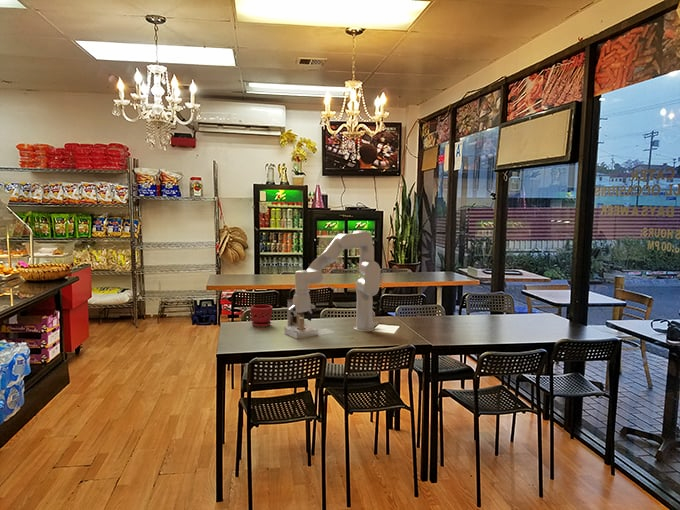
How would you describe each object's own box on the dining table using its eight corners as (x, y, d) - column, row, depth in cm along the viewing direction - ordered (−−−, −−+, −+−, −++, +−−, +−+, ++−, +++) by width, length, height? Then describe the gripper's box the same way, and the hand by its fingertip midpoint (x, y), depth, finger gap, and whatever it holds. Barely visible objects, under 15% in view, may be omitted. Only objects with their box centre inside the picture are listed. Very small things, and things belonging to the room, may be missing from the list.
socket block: (305, 329, 278) (305, 324, 278) (317, 335, 267) (318, 329, 266) (284, 333, 270) (284, 327, 270) (296, 339, 259) (296, 333, 258)
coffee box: (301, 324, 292) (301, 298, 290) (304, 326, 286) (304, 300, 284) (287, 325, 288) (287, 299, 286) (289, 327, 282) (290, 301, 281)
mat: (326, 329, 281) (326, 328, 281) (336, 332, 273) (336, 332, 273) (312, 331, 275) (312, 330, 275) (321, 335, 267) (321, 334, 267)
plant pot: (274, 327, 283) (274, 307, 282) (253, 328, 278) (253, 308, 277) (269, 321, 295) (269, 303, 294) (248, 323, 290) (248, 304, 289)
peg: (302, 333, 270) (302, 317, 269) (304, 334, 268) (305, 318, 267) (297, 334, 269) (297, 317, 268) (300, 335, 266) (300, 319, 265)
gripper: (311, 289, 274) (311, 318, 276) (285, 292, 264) (285, 322, 266) (318, 291, 268) (318, 320, 270) (291, 294, 258) (292, 325, 260)
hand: (302, 321), depth 268 cm, fingers open, 9 cm apart
